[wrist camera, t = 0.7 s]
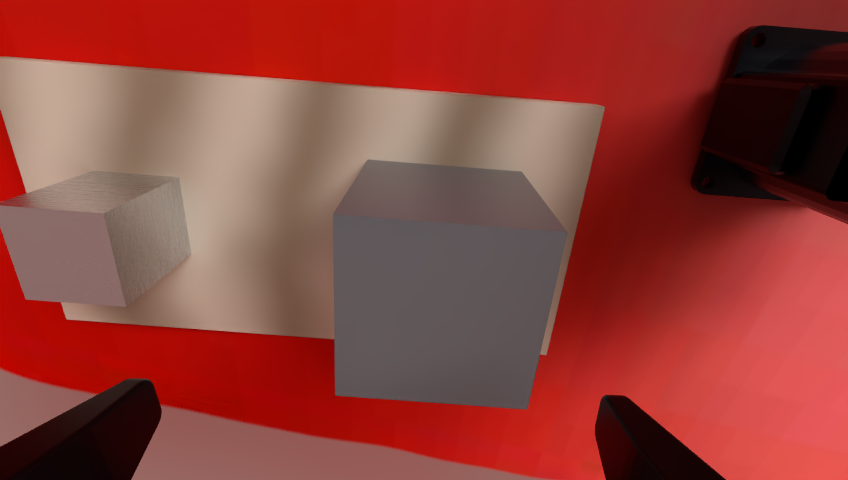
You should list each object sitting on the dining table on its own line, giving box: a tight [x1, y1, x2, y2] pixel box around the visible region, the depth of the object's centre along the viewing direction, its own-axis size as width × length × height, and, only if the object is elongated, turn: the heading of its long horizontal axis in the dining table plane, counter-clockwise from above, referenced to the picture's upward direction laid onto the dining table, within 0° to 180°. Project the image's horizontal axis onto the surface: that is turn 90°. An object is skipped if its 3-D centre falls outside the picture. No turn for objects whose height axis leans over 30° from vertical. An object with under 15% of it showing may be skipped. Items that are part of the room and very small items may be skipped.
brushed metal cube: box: [0, 171, 191, 307], centre depth 17 cm, size 4×4×4 cm
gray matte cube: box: [333, 159, 568, 409], centre depth 16 cm, size 6×6×7 cm
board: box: [0, 57, 605, 355], centre depth 19 cm, size 24×12×1 cm, turn 86°
